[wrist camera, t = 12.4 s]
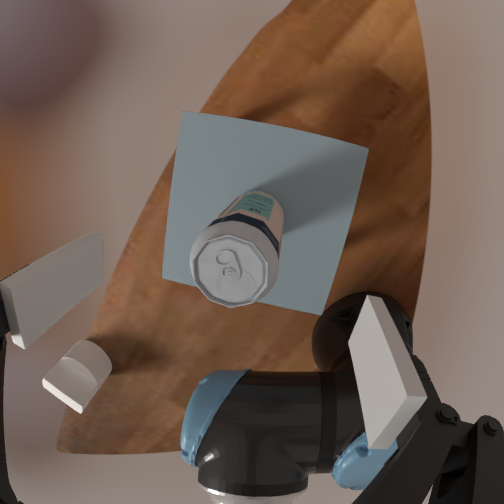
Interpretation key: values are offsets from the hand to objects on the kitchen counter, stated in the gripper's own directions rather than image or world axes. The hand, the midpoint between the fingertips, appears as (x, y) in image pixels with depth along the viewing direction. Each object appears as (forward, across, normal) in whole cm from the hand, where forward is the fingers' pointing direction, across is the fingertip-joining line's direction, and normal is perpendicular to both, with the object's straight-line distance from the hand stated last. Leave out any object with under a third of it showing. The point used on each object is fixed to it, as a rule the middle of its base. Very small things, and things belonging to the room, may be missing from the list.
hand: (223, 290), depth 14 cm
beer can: (+14, 0, 0) cm, 14 cm away
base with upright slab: (+26, +27, +36) cm, 52 cm away
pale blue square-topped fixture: (+25, 0, 0) cm, 25 cm away
